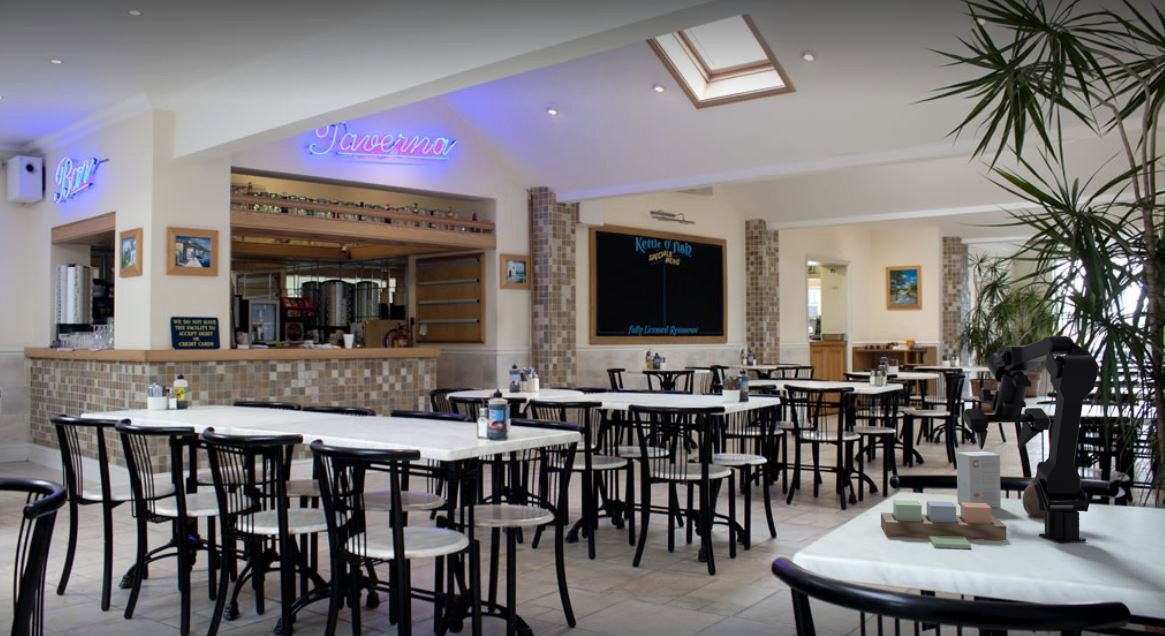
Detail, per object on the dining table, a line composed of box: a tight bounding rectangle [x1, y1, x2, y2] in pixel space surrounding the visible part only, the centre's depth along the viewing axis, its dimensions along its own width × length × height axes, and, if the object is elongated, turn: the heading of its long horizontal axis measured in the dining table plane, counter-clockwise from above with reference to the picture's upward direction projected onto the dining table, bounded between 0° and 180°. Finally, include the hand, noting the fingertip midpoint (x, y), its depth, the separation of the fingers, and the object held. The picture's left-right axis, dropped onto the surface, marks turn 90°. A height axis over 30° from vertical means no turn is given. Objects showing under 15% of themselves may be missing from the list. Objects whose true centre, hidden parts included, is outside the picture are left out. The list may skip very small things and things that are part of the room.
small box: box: [956, 451, 1002, 509], centre depth 229 cm, size 8×6×13 cm
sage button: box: [892, 499, 923, 521], centre depth 202 cm, size 5×5×4 cm
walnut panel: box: [880, 512, 1007, 541], centre depth 200 cm, size 24×10×3 cm, turn 78°
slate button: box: [926, 500, 957, 523], centre depth 200 cm, size 5×5×4 cm
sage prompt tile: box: [928, 536, 972, 549], centre depth 191 cm, size 7×7×1 cm
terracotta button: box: [960, 502, 992, 524], centre depth 199 cm, size 5×5×4 cm
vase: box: [1022, 477, 1045, 519], centre depth 217 cm, size 7×7×9 cm
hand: (999, 448), depth 225 cm, fingers open, 9 cm apart
